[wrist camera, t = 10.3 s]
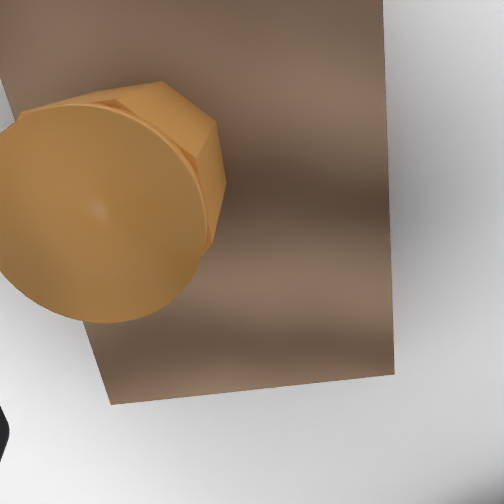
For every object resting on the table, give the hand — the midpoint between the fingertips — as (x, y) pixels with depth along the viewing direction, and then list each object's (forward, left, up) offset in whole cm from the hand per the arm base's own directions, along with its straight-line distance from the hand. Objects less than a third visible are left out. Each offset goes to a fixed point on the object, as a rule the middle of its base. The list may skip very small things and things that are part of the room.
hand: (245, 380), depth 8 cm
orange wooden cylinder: (+2, +3, -9) cm, 10 cm away
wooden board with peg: (0, +1, -11) cm, 11 cm away
